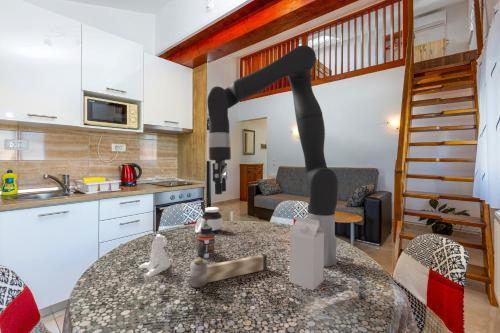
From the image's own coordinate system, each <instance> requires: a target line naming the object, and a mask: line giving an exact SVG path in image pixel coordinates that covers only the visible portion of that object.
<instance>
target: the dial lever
mask: <svg viewBox="0 0 500 333" xmlns="http://www.w3.org/2000/svg"><path fill="white" fill-rule="evenodd" d="M267 256H268V255H267V254H265V253H262V254H258V255H257V254H256V255H253V256H247V257H242V258H237V259H233V260H227V261H221V262H215V263H212V264H208V261H207V260H205V259H204V258H201V257H199V258H195V259H194V260H192V261H191V262H190V277H189V278H190V286H191V287H193V288H202V287H204V286H206V285H207V284H208V283H211V282H213V283H214V282H218V281H221V280H226V279H230V278H234V277H239V276H242V275H247V274H251V273H256V272H260V271H265V270H267V268H268V267H267V266H268V257H267Z"/></svg>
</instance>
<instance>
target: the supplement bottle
mask: <svg viewBox="0 0 500 333" xmlns="http://www.w3.org/2000/svg"><path fill="white" fill-rule="evenodd" d="M197 234H198V235H197V257H199V258H202V259H207V258H208V259H209V258H212V257H214V255H215V236H216V234H215V233H213V232H212V227H211V226H203V227H201V232H200V233H197Z"/></svg>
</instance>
